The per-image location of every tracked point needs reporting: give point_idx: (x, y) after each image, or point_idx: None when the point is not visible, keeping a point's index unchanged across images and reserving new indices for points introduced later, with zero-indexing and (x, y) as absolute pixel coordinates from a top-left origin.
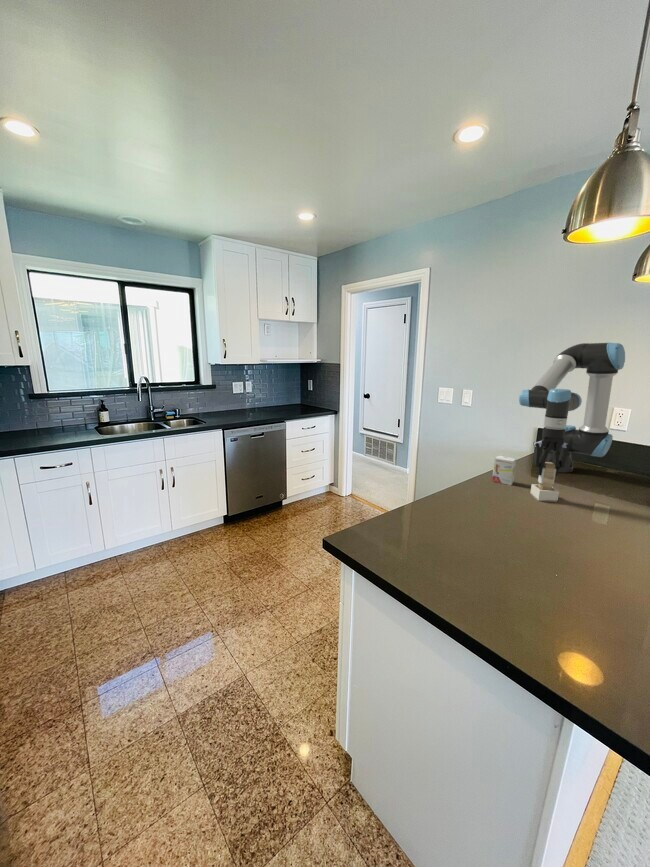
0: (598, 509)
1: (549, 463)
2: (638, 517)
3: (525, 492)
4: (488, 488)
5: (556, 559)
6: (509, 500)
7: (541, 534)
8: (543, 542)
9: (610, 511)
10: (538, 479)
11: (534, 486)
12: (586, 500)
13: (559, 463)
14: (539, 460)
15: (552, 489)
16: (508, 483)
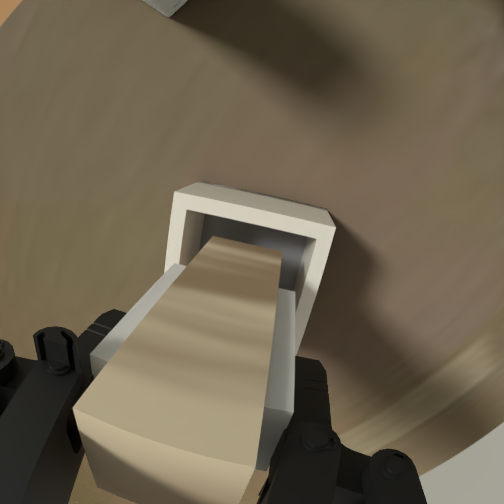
0: (419, 400)
1: (168, 487)
2: (471, 440)
3: (186, 148)
4: (24, 98)
5: (87, 495)
6: (49, 265)
7: (84, 459)
8: (80, 472)
9: (443, 412)
10: (166, 276)
11: (167, 246)
12: (475, 308)
13: (376, 496)
14: (4, 423)
15: (299, 294)
16: (154, 7)
